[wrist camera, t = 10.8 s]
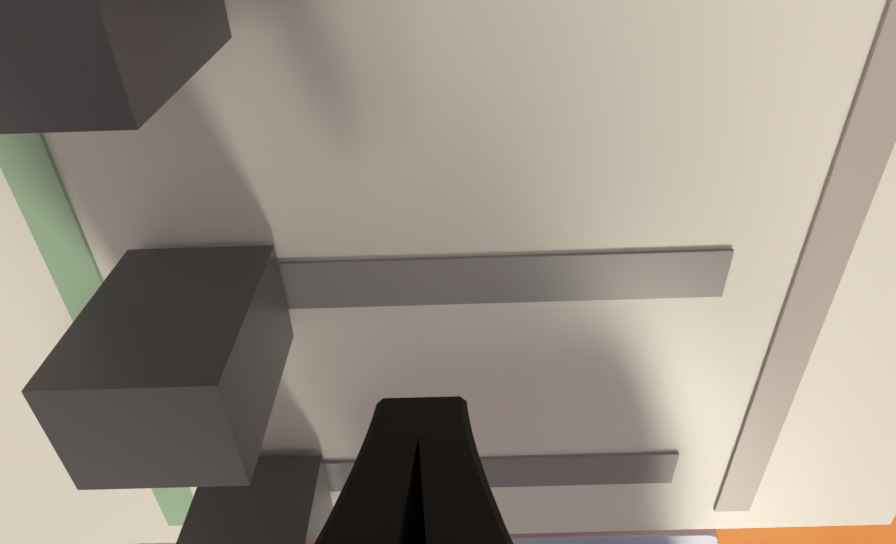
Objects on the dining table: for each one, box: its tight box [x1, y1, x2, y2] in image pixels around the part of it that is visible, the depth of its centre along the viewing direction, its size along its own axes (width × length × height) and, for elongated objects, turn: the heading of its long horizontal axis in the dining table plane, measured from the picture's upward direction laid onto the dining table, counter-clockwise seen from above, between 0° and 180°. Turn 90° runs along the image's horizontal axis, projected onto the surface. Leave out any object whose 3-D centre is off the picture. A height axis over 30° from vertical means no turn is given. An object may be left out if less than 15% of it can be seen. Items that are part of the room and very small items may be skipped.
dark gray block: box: [21, 245, 294, 490], centre depth 12 cm, size 2×3×4 cm
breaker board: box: [0, 0, 896, 544], centre depth 15 cm, size 19×28×2 cm
